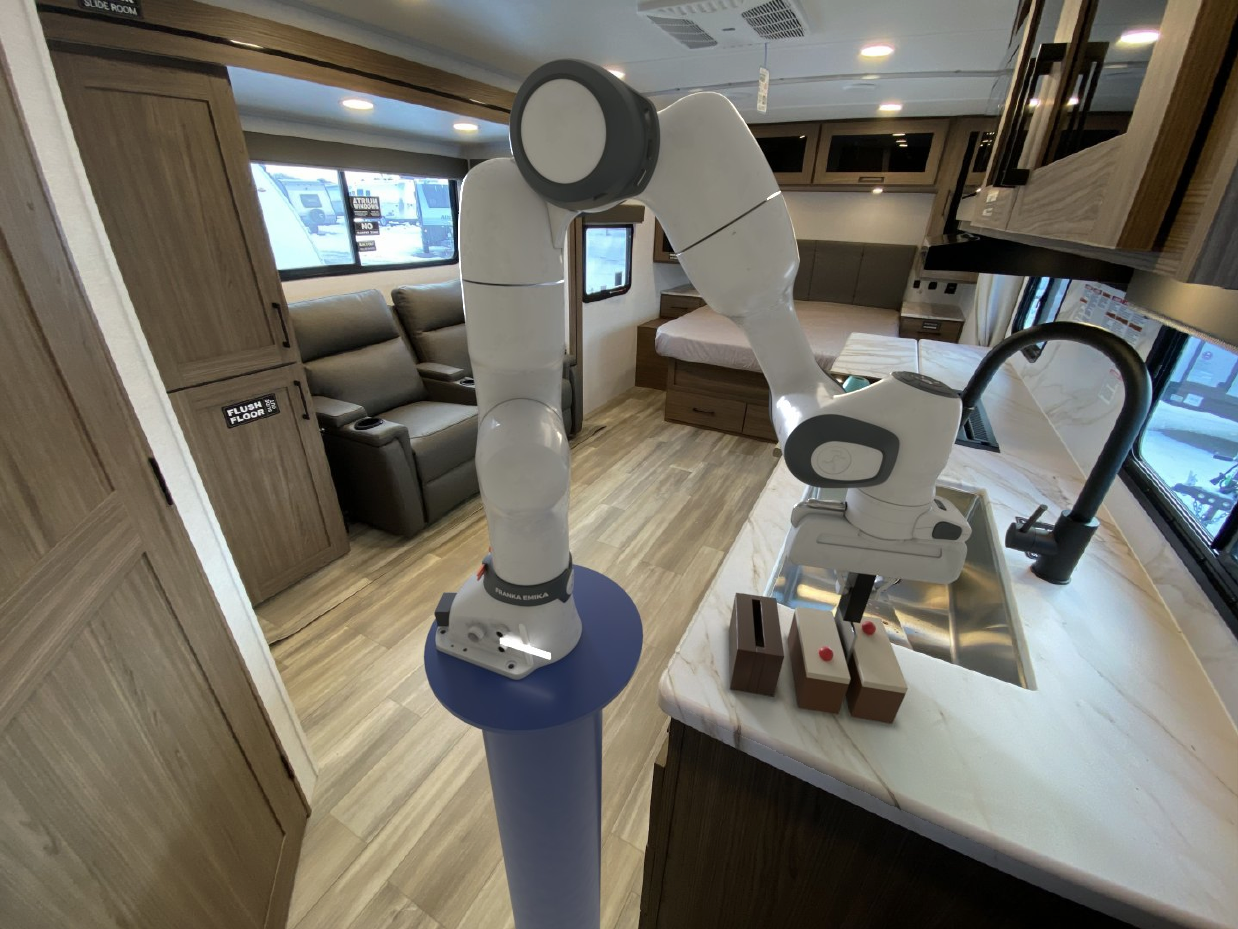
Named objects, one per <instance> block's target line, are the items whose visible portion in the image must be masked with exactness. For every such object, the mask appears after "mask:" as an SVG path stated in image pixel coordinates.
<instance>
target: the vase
mask: <svg viewBox="0 0 1238 929" xmlns="http://www.w3.org/2000/svg"><path fill="white" fill-rule="evenodd" d="M841 385H842V386H843V387H844V389H845V390H846V392H847V393H851V392H854V391H857V390H860V389H862V388H865V387H867V386H870V385H871V383H870V381H869V380H868V378H867V379H866V378H865V377H863V376H860V375H850V376H849V377H848V378H847V379H846V380H845V381H844V382H843V384H841Z"/></svg>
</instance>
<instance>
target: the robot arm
mask: <svg viewBox="0 0 1238 929" xmlns="http://www.w3.org/2000/svg"><path fill="white" fill-rule="evenodd" d="M508 136H509V138H508V139H509V145H510V149H511V154H512V157H496V158H491V159H487V160H485V161H483V162H480V163H478V164H476V165H474V166H473V167H472V168H471V169H469V171H468V172H467V173H466V175H465V177H464V178H463V180H462V181H463V182H462V184H461V190H460V200H459V211H458V212H459V214H458V259H459V260H458V261H459V273H460V283H461V292H462V294H461V295H462V303H463V313H464V322H465V324H464V325H465V331H466V332H465V334H466V342H467V353H468V356H469V361H470V367H471V372H472V377H473V384H474V389H475V390H474V391H475V397H476V404H477V405H476V406H477V413H478V414H477V437H476V438H477V439H476V448H475V456H474V463H475V470H476V471H475V472H476V476H477V482H478V489H479V493H480V497H481V502H482V506H483V511H484V515H485V518H486V523H487V530H488V538H489V547H488V552H489V553H488V554H486V555H485V556H484V557H483V559H482V561H481V566H480V567H479V569H478V570H477V572H475V573H473V574H472V575H470V577H469V578H468V579H467V580H466V581H465V582H464V583H463V585H462V586H461V587H460V588H459V589H458V591H457V592H449V591H446V592H445V591H443V593H442V595H441V597H440V599H439V601H438V604H437V605H436V607H435V609H434V614H433V615H434V617H435V618H436V622H437V626H438V629H437V632H436V648H437V650H439V651H441V652H444V653H446V654H449V655H451V656H454V657H457V658H459V659H462V660H464V661H467V662H470V663H472V664H475V665H477V666H480V667H483V668H485V669H488V670H491V671H493V672H496V673H498V674H501V675H504V676H506V677H509V678H512V679H515V680H519V679H522V678H524V677H526V676H527V675H529V674H530V673H531V672H533V671H534V670H535V669H537V668H539V667H542V666H545V665H548V664H551V663H554V662H556V661H558V660H560V659H561V658H563V657H564V656H566V655H567V654H568V653H570V652H571V651H572V650H573V648H574V647H575V646H576V644H577V643H578V641H579V639H580V636H581V632H582V623H581V619H580V617H579V615H578V612H577V610H576V607H575V603H574V598H573V593H572V591H573V586H574V569H573V564H574V563H573V555H572V552H571V551H570V531H569V530H570V528H569V508H570V500H571V485H572V484H571V483H572V482H571V481H572V453H571V447H570V444H569V441H568V437H567V433H566V429H565V424H564V418H563V412H562V411H563V410H562V392H563V390H562V389H563V388H562V387H563V372H564V360H565V355H566V354H565V353H566V321H565V320H566V318H565V316H566V314H565V313H566V312H565V311H566V310H565V309H566V308H565V303H566V302H565V301H566V300H565V241H566V236H567V231H568V228H569V226H570V224H571V223H572V221H574V219H580V218H583V217H586V216H589V215H592V214H595V213H600V212H604V211H607V210H610V209H614V208H615V207H618V206H620V205H622V204H624V203H626V202H627V201H629V200H632V201H638V202H640V203H642V204H643V205H645V206H646V207H647V208H648V209H649V210H650V211H651V212H652V214H653V215H654V216H655V218H656V219H657V220H658V223H659V224H660V226H661V228H662V230H663V231H664V233H665V236H666V237H667V239H668V241H669V244H670V246H671V248H672V249H673V251H674V254H676V255H675V256H676V258H677V260H678V262H679V264H680V266H681V268H682V269H683V272H684V273H685V275H686V277H687V278H688V279H689V281H690V283H691V284H692V286H693V287H694V289H695V290H696V291H697V293H698V294H699V295H700V297H701V298H702V299H703V301H704V302H705V304H707V306H708V307H709V309H711V311H713V312H714V313H716V314H718V315H720V316H723V317H725V318H726V319H728V320H729V321H731V322H732V323H734V325H736V327H738V328H739V330H740V331H741V332H742V334H743V335H744V337H745V338H746V340H747V342H748V344H749V346H750V348H751V350H752V353H753V355H754V356H755V359H756V360H757V363H758V365H759V367H760V369H761V371H762V373H763V375H764V377H765V379H766V382H767V385H768V388H769V389H768V390H769V397H768V398H769V399H768V415H769V419H770V420H769V421H770V423H771V425H772V428H773V430H774V432H775V434H776V438H777V440H778V443H779V447H780V450H781V453H782V457H783V459H784V463H785V465H786V467H787V469H788V471H789V472H790V473H791V475H792V476H794V478H796V479H797V481H799V482H801V483H803V484H805V485H807V486H809V487H810V486H811V487H814V488H820V489H847V492H846V495H845V499H844V501H840V500H839V501H838V500H824V499H823V500H822V499H818V498H807V500H803V501H799V502H797V503H796V504H795V505H794V506H793V507H792V510H791V515H790V524H791V525H790V528H789V530H788V533H787V536H786V538H785V544H784V546H785V547H784V548H785V554H786V558H788V560H789V561H790V563H791V564H792V565H795V566H803V567H811V568H818V569H825V570H833V573H834V575H835V578H836V582H835V592H836V595H839V596H841V595H845V596H849V595H850V591H851V589H852V586H851V583H850V580H849V578H847V577H848V574H849V572H855V573H862V574H870V575H877V576H876V579H875V582H874V585H873V588H872V591H871V594H870V597H869V599H868V600H876V601H878V600H879V599H880V596H881V593H882V592H883V591H885V590H887V589H888V588H889V587H891V586H892V585H894V584H895V582H896V579H902V580H907V581H908V580H910V581H917V582H922V583H923V582H924V583H931V584H939V585H947V586H948V585H949V584H952V583H953V582H955V581H957V580H958V579H959V577H960V575H961V573H962V570H963V568H964V566H965V562H966V558H967V554H968V547H967V544H966V543H965V542H966V541H968V540H969V539H970V537H971V535H972V533H973V529H972V528H971V525H970V524H969V522H968V520H967V518H965V516H964V515H963V514H962V513H961V511H960V510H959V509H958V508H957V507H956V506H955V504H954V503H952V502H951V501H950V500H949V499H947V498H945V497H942V496H940V495H937V494H936V490H937V489H936V488H937V487H936V485H937V481H938V478H939V476H940V474H941V473H942V472H943V471H944V470H945V468H947V465H948V463H949V460H950V458H951V455H952V452H953V450H954V447H955V443H956V440H957V438H958V434H959V430H960V425H961V421H962V414H963V400H962V399H961V397H960V395H959V394H958V392H956V390H954V389H953V388H951V387H950V386H949V385H948V384H946V383H945V382H943V381H941V380H938V379H935V378H933V377H931V376H929V375H926V374H921V373H917V372H913V371H907V370H902V371H901V370H898V371H895V370H894V371H891V372H890V373H888V374H887V375H886V376H884V377H883V378H882V379H880V380H878V381H876V382H874V383H872V384H870V386H867V387H865V388H862V389H860V390H857V391H854V392H851V393H847V392H846V390H845V389H844V387H843V386H842V385H843V384H842V383H841V382H840V381H839V380H838V379H837V378H835V377H834V376H833V375H832V374H830V373H829V372H828V371H827V370H825V369H824V368H823V367H822V366H821V365H820V364H819V363H818V360H817V359H816V358H815V355H814V353H813V350H812V348H811V346H810V344H809V341H808V338H807V336H806V333H805V331H804V329H803V326H802V324H801V322H800V319H799V316H798V314H797V311H796V307H795V301H794V285H795V281H796V277H797V274H798V272H799V267H800V254H799V249H798V243H797V239H796V234H795V229H794V225H793V222H792V218H791V215H790V213H789V209H788V206H787V204H786V201H785V198H784V196H783V193H782V191H781V190H780V186H779V184H778V181H777V180H776V177H775V175H774V172H773V170H772V168H771V166H770V164H769V162H768V160H767V158H766V156H765V154H764V151H762V148H761V147H760V145H759V143H758V141H757V139H756V138H755V136H754V135H753V132H752V131H751V129H750V128H749V126H748V125H747V123H746V122H745V120H744V118H743V117H742V115H741V113H739V111H738V110H737V108H736V107H735V105H734V104H733V103H732V102H731V101H730V99H729V98H728V97H726V96H724V95H723V94H721V93H719V92H715V91H701V92H695V93H691V94H689V95H686V96H684V97H682V98H680V99H678V100H676V101H674V103H672V104H670V105H669V106H667V107H666V108H664V109H662V110H660V111H659V110H658V111H657V108H656V105H655V103H654V102H653V101H652V100H651V99H650V98H648V97H647V96H645V95H644V94H643V93H641V92H639V91H638V90H636V89H635V88H633V87H632V86H630V85H628V83H626V82H624V81H623V80H622V79H620V78H619V77H618V76H616V75H615V74H614V73H612V72H611V71H609V70H608V69H606V68H604V67H603V66H601V65H598V64H596V63H594V62H591V61H589V60H584V59H582V58H581V59H580V58H572V57H565V58H564V57H563V58H557V59H554V60H550V61H548V62H545V63H543V64H541V65H540V66H538V67H537V68H535V69H534V70H533V71H531V73H529V75H528V76H527V77H525V79H524V80H523V81H522V84H521V85H520V86H519V88H518V90H517V92H516V94H515V96H514V99H513V102H512V104H511V109H510V114H509V122H508ZM442 633H444V634H442ZM511 667H513V668H512V669H509V668H511Z"/></svg>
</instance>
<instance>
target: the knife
mask: <svg viewBox="0 0 1238 929" xmlns="http://www.w3.org/2000/svg"><path fill="white" fill-rule="evenodd" d="M877 577H878V576H877V575H870V574H862V573H855V572H848V573H847V576H846V578H849V580H850V583H851V586H852V589H851V591H850V595H849V596H845V595H840V598H839V601H838V604H837V607H836V611H835V614H834V620H835V623H836V627H837V631H838V634H839V638H840V642H841V645H842V649H843V653H844V656H845V660H846V664H847V665H848V662H849V660H850V657H851V654H852V651H853V648H854V645H855V642H856V640H857V637H858V636H857V633H856V630H855V627H854V624H853V622H855V623H860V622H861V620H862V617H863V616H864V614H865V610H866V608H867V605H868V602H869V600H870V599H869V597H870V594H871V591H872V588H873V585H874V582H875V579H876V578H877Z"/></svg>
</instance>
